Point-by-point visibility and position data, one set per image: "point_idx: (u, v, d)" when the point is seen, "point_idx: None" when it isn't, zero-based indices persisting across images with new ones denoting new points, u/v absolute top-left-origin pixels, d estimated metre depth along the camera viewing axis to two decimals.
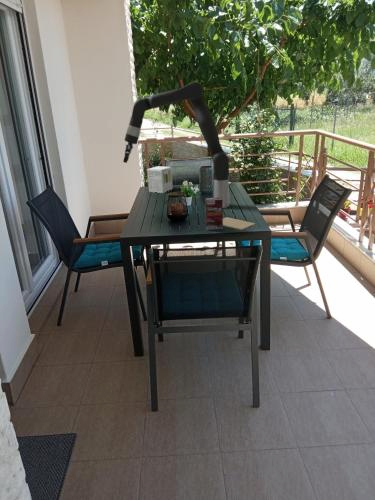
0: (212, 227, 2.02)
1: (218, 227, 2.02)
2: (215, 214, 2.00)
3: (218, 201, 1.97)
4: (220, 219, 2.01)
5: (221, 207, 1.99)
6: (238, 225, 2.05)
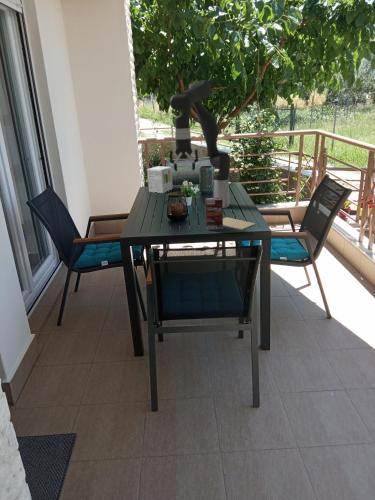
0: (212, 227, 2.02)
1: (218, 227, 2.02)
2: (215, 214, 2.00)
3: (218, 201, 1.97)
4: (220, 219, 2.01)
5: (221, 207, 1.99)
6: (238, 225, 2.05)
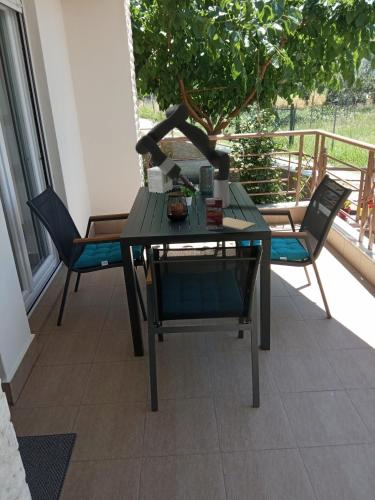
0: (212, 227, 2.02)
1: (218, 227, 2.02)
2: (215, 214, 2.00)
3: (218, 201, 1.97)
4: (220, 219, 2.01)
5: (221, 207, 1.99)
6: (238, 225, 2.05)
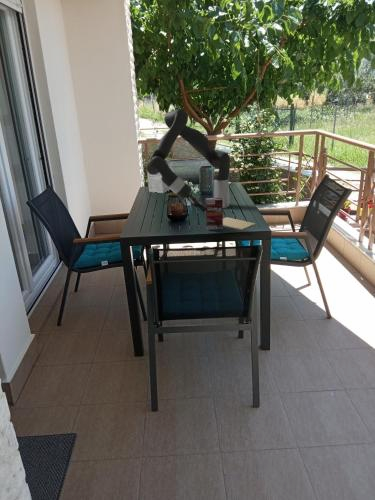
0: (212, 227, 2.02)
1: (218, 227, 2.02)
2: (215, 214, 2.00)
3: (218, 201, 1.97)
4: (220, 219, 2.01)
5: (221, 207, 1.99)
6: (238, 225, 2.05)
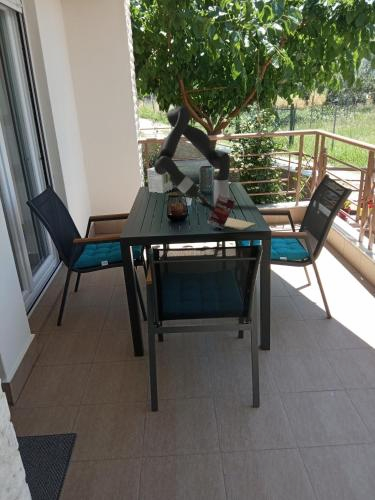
0: (214, 223, 2.02)
1: (219, 225, 2.02)
2: (223, 212, 1.99)
3: (230, 201, 1.97)
4: (224, 219, 2.01)
5: (230, 208, 1.99)
6: (238, 225, 2.05)
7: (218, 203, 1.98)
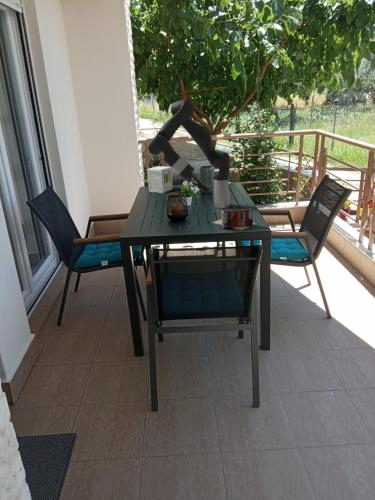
0: (224, 218, 2.01)
1: (224, 223, 2.02)
2: (238, 220, 2.01)
3: (251, 222, 2.02)
4: (232, 225, 2.02)
5: (245, 225, 2.03)
6: None
7: (245, 212, 2.00)
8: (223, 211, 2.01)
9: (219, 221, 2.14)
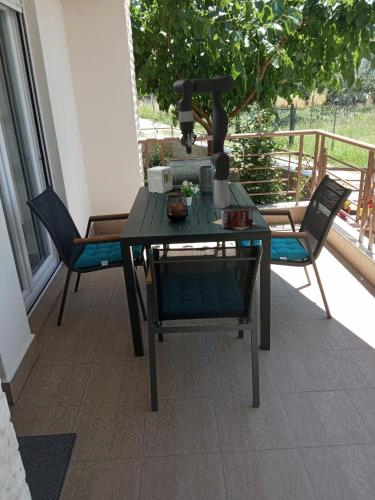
0: (224, 218, 2.01)
1: (224, 223, 2.02)
2: (238, 220, 2.01)
3: (251, 222, 2.02)
4: (232, 225, 2.02)
5: (245, 225, 2.03)
6: None
7: (245, 212, 2.00)
8: (223, 211, 2.01)
9: (219, 221, 2.14)
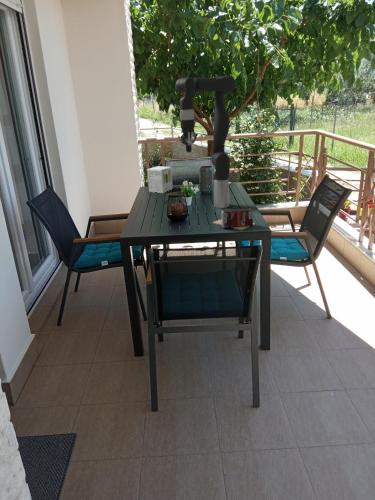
0: (224, 218, 2.01)
1: (224, 223, 2.02)
2: (238, 220, 2.01)
3: (251, 222, 2.02)
4: (232, 225, 2.02)
5: (245, 225, 2.03)
6: None
7: (245, 212, 2.00)
8: (223, 211, 2.01)
9: (219, 221, 2.14)
